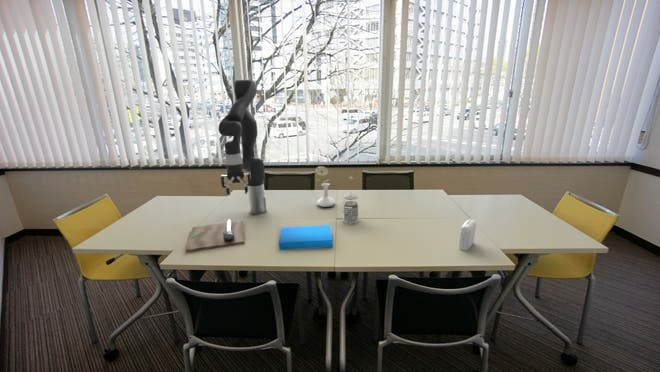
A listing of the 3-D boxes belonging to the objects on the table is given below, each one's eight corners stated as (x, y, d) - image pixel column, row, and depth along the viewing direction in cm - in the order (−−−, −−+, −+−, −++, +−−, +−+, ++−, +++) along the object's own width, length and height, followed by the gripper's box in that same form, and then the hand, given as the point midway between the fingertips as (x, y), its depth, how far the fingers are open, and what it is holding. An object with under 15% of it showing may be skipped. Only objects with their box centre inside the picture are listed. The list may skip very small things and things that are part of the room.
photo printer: (467, 251, 137) (470, 226, 133) (457, 248, 139) (460, 223, 136) (474, 243, 144) (477, 218, 140) (465, 240, 147) (468, 216, 143)
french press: (363, 219, 172) (364, 176, 164) (350, 226, 164) (350, 181, 156) (349, 214, 179) (349, 173, 171) (336, 221, 171) (335, 177, 163)
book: (280, 227, 156) (330, 224, 158) (281, 235, 158) (330, 231, 159) (278, 243, 140) (333, 239, 142) (279, 252, 141) (333, 248, 143)
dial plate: (243, 223, 170) (243, 220, 170) (244, 244, 147) (244, 240, 147) (193, 229, 164) (192, 226, 163) (186, 252, 141) (185, 249, 140)
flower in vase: (338, 203, 195) (338, 165, 188) (328, 209, 186) (327, 169, 179) (321, 200, 202) (320, 163, 194) (311, 205, 193) (309, 167, 185)
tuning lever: (234, 240, 147) (233, 234, 146) (223, 242, 146) (222, 236, 145) (234, 223, 166) (234, 218, 165) (225, 224, 164) (224, 219, 163)
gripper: (248, 159, 156) (251, 190, 161) (219, 162, 152) (223, 193, 157) (249, 163, 149) (252, 195, 154) (218, 165, 145) (222, 198, 150)
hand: (237, 194), depth 156 cm, fingers open, 7 cm apart
